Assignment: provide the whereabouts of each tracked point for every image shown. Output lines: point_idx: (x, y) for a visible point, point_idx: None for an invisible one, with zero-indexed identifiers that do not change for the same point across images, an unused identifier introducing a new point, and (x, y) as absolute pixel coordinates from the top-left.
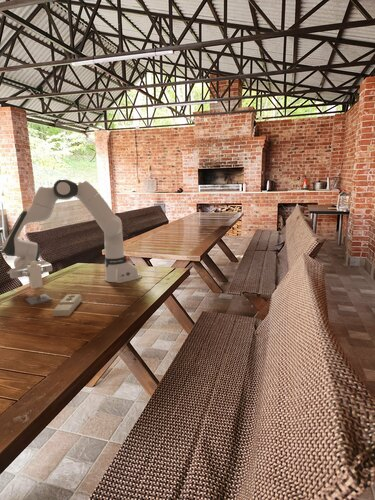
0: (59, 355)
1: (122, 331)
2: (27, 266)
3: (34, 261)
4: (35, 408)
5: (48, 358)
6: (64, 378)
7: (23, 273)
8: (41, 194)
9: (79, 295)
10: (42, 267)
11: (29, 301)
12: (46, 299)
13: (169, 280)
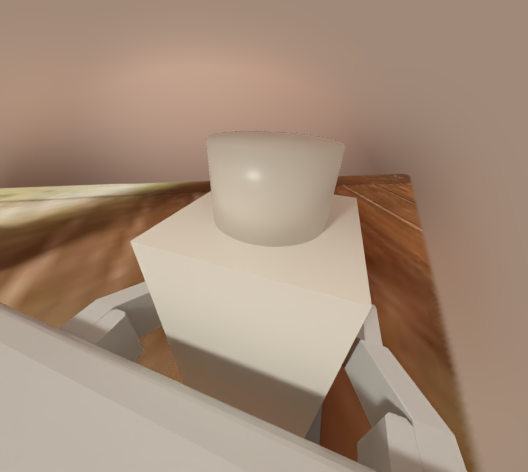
0: (352, 190)
1: None
2: (362, 287)
3: (239, 139)
4: (388, 176)
5: (365, 192)
6: (360, 178)
7: (415, 406)
8: None
9: None
10: (50, 328)
11: (313, 433)
12: None
13: (21, 192)
